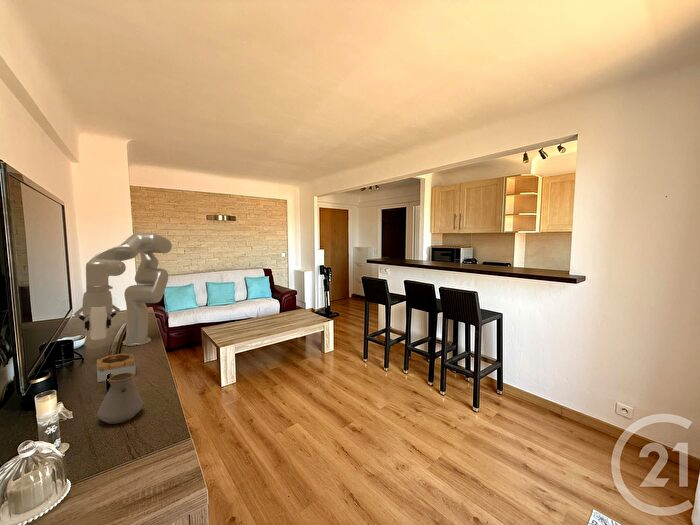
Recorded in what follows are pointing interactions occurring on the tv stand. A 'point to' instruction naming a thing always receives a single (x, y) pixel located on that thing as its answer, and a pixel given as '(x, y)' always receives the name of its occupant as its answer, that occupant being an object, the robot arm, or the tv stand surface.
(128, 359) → the octagon ring knob plate
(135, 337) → the robot arm
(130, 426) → the tv stand surface
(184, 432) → the tv stand surface
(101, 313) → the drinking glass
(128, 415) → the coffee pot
